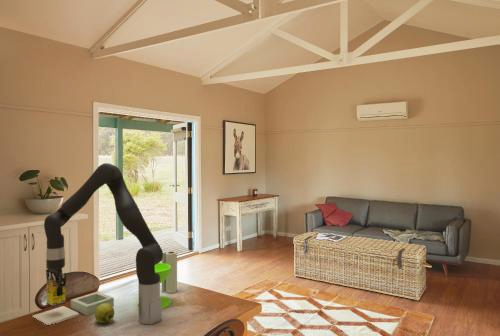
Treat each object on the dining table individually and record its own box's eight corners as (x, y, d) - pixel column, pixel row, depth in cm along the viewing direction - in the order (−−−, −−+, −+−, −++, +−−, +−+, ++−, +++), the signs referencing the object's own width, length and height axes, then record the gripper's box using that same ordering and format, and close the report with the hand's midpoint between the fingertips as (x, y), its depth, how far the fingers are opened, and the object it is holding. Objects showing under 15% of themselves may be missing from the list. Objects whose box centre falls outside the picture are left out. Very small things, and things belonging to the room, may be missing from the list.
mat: (79, 315, 173) (79, 313, 172) (47, 326, 161) (47, 323, 161) (63, 308, 181) (63, 305, 181) (32, 317, 170) (32, 315, 170)
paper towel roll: (179, 290, 206) (178, 251, 205) (173, 294, 200) (173, 254, 199) (167, 289, 207) (167, 250, 207) (161, 292, 202) (161, 253, 201)
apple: (107, 316, 171) (107, 299, 171) (118, 322, 166) (118, 304, 165) (90, 322, 165) (90, 304, 165) (101, 328, 160) (101, 309, 159)
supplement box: (52, 307, 167) (52, 283, 167) (46, 304, 170) (46, 280, 170) (66, 303, 172) (65, 279, 171) (59, 300, 175) (59, 277, 175)
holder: (113, 305, 184) (113, 297, 184) (86, 315, 172) (86, 306, 172) (97, 299, 192) (97, 291, 192) (70, 308, 181) (70, 299, 181)
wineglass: (175, 298, 194) (174, 263, 193) (164, 310, 178) (164, 273, 177) (144, 297, 195) (144, 262, 195) (132, 309, 180) (132, 271, 179)
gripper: (72, 258, 169) (72, 295, 170) (56, 253, 178) (56, 288, 178) (55, 261, 163) (55, 300, 164) (39, 256, 172) (40, 292, 172)
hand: (56, 293), depth 171 cm, fingers closed on supplement box, 6 cm apart
